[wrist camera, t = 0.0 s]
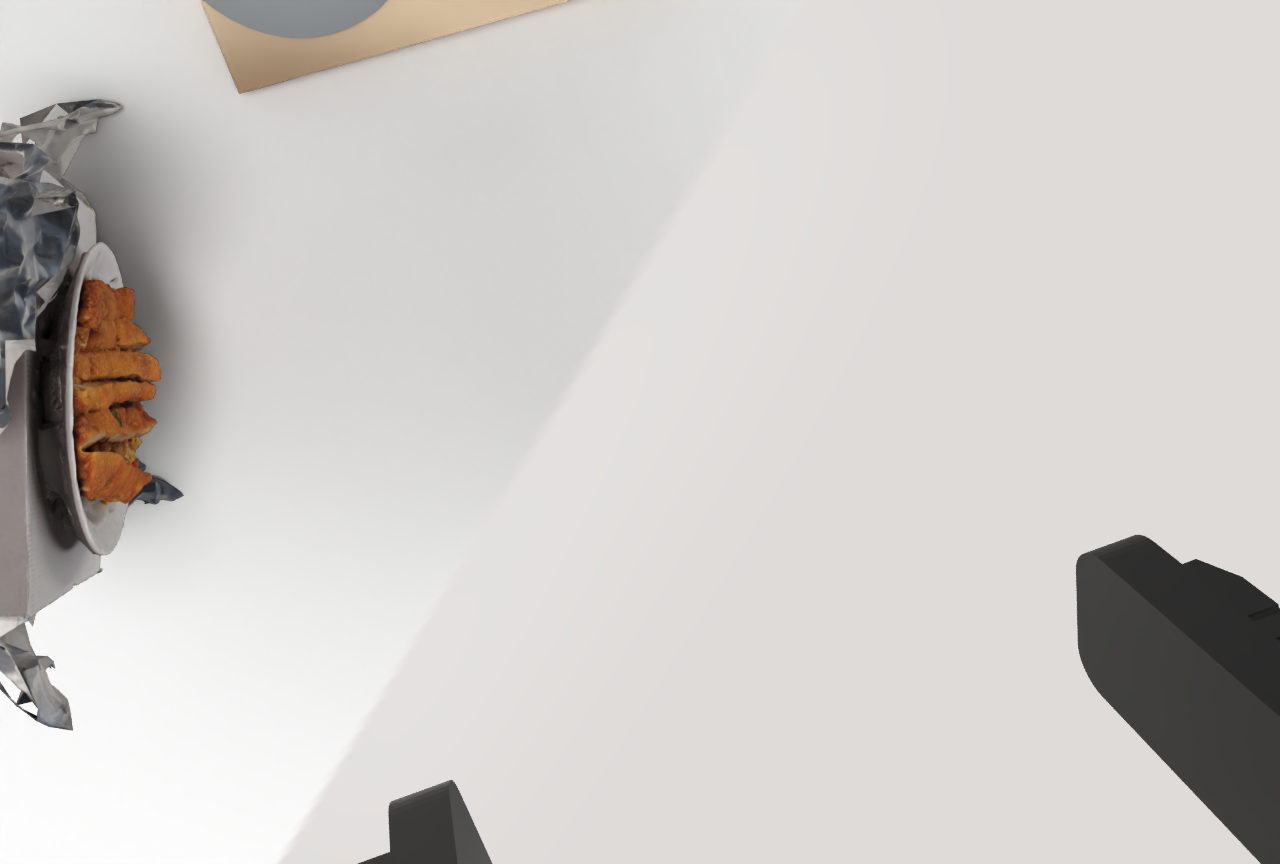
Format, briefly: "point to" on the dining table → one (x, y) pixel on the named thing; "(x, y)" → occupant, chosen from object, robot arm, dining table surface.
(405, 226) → the dining table surface
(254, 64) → the board
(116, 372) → the meal
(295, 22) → the grey pad
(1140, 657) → the robot arm
